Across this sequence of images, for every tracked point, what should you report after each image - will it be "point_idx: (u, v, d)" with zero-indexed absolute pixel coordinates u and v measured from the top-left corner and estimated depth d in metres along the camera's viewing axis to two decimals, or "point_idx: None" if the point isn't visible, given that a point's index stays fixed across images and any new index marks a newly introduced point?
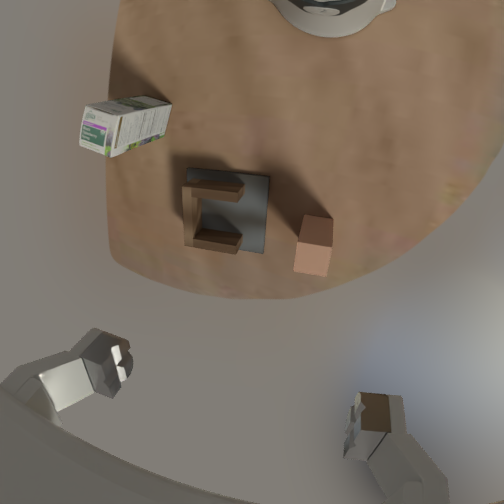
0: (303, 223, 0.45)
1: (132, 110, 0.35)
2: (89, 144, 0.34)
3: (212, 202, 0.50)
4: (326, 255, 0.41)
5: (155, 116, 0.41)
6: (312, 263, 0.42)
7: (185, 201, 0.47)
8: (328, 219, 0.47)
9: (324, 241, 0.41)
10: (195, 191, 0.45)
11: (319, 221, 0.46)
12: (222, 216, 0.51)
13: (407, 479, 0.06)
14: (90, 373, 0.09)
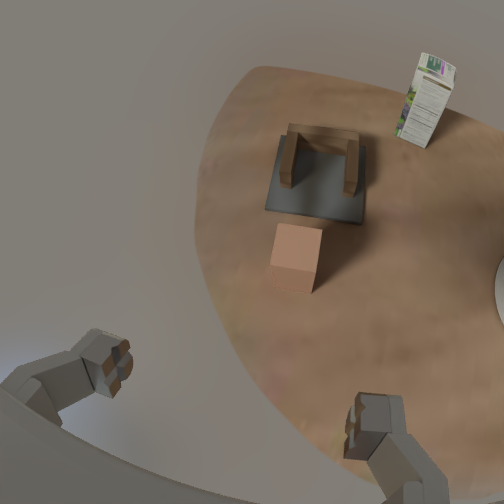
0: None
1: (446, 103, 0.34)
2: (425, 59, 0.33)
3: (329, 163, 0.44)
4: (304, 265, 0.31)
5: (425, 127, 0.40)
6: (291, 246, 0.31)
7: (342, 133, 0.41)
8: None
9: None
10: (355, 143, 0.40)
11: None
12: (313, 171, 0.44)
13: (407, 479, 0.06)
14: (90, 373, 0.09)
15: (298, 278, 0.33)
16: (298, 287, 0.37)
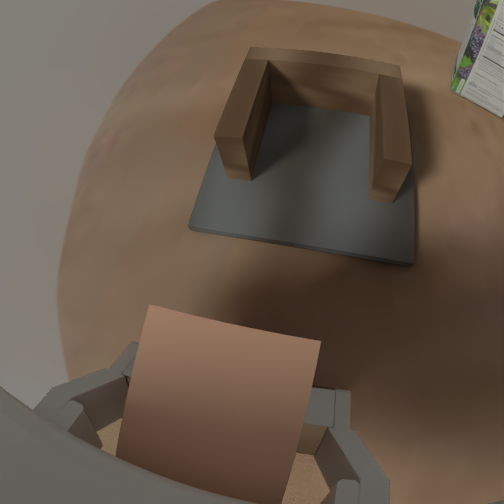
0: None
1: None
2: None
3: (337, 128, 0.20)
4: (236, 481, 0.06)
5: None
6: (188, 408, 0.07)
7: (364, 63, 0.17)
8: None
9: None
10: (394, 83, 0.16)
11: None
12: (302, 142, 0.20)
13: (347, 476, 0.06)
14: None
15: None
16: None
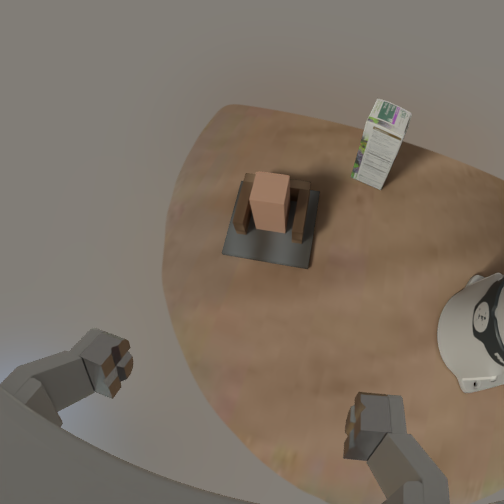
0: (289, 198, 0.47)
1: (398, 150, 0.40)
2: (378, 106, 0.39)
3: None
4: (275, 199, 0.40)
5: (379, 172, 0.46)
6: (265, 187, 0.41)
7: (294, 182, 0.47)
8: None
9: (285, 202, 0.42)
10: (305, 193, 0.46)
11: (287, 216, 0.48)
12: None
13: (407, 479, 0.06)
14: (90, 373, 0.09)
15: (272, 214, 0.43)
16: (274, 225, 0.47)
